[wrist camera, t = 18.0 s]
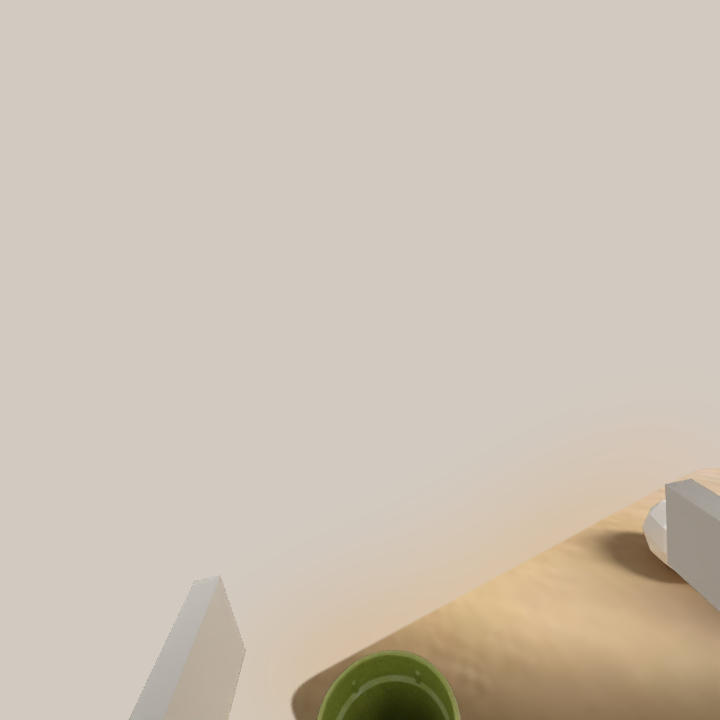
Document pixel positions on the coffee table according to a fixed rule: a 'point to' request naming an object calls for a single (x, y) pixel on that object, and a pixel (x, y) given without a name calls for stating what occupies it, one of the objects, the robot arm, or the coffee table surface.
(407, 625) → the coffee table surface
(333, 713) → the plant pot
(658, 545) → the geometric ball
